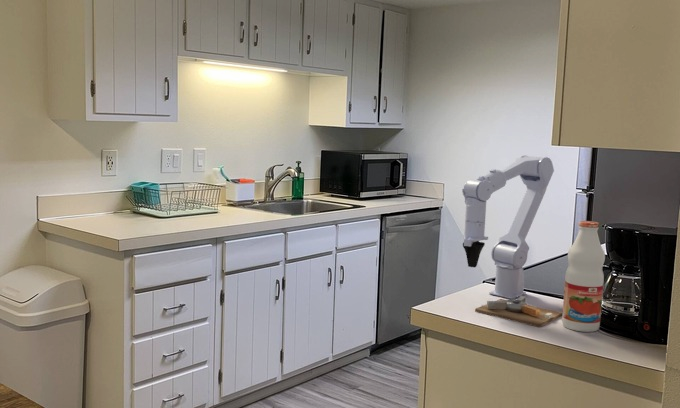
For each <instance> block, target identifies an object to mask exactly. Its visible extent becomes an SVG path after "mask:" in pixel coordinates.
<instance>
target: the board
mask: <svg viewBox="0 0 680 408" xmlns="http://www.w3.org/2000/svg"><path fill="white" fill-rule="evenodd" d="M506 300H507V299H504V298H499V299H497V300H496V301H506ZM527 305H528V306H531V307H534V308H537V309H539V310H540V314H539V316H537V317H535V316H532V315H529V314H527V313H515V312H510V311H507V310H505V309H491V308H487V303H486V304H484V305H481V306H479V307H476V308H475V309H474V310H475V312H477V313H480V314H484V315H488V316H492V317H497V318H500V319H505V320H508V321H513V322H517V323H521V324H525V325H528V326H533V327H537V328H541V327H542V326H544V325H547V324H549V323H551V322H553V321H554V320H557V319H559V318H561V317H562V314H563V311H562V312H561V311H556V310H553V309H547V308H543V307H540V306H539V307H538V306H535V305H529V304H527ZM547 313H552V314H553V317H552V318H550V319H547V318H545V314H547Z"/></svg>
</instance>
